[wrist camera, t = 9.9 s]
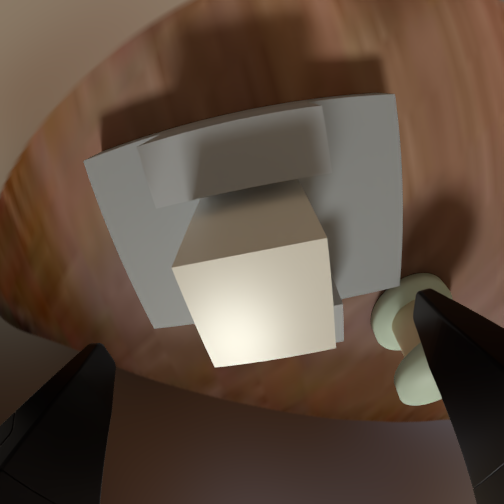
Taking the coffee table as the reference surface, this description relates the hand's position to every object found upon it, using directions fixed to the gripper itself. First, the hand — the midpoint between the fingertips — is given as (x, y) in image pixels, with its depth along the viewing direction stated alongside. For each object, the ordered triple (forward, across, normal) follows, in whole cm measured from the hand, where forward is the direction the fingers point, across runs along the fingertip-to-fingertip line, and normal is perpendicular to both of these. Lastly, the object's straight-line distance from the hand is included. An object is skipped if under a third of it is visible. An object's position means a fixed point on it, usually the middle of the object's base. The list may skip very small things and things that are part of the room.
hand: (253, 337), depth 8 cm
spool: (+9, -9, +9) cm, 16 cm away
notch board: (+9, 0, 0) cm, 9 cm away
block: (+7, 0, 0) cm, 7 cm away
